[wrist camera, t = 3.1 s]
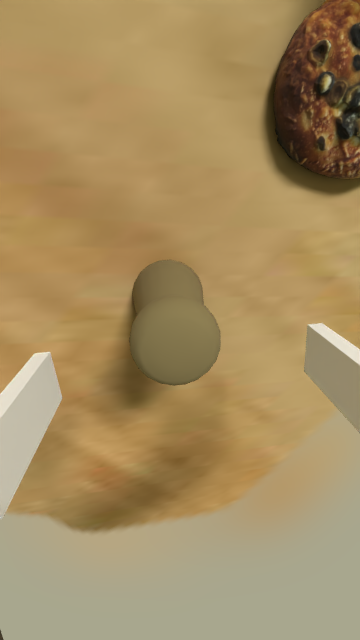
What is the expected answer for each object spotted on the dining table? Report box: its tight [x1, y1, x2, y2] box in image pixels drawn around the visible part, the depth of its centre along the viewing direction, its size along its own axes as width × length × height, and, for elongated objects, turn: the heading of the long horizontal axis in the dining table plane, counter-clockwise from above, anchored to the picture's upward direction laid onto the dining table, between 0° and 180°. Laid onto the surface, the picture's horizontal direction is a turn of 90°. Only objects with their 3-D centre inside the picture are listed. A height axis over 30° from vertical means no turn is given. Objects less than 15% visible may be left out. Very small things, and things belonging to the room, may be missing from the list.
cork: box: [129, 260, 220, 385], centre depth 21 cm, size 6×6×11 cm
